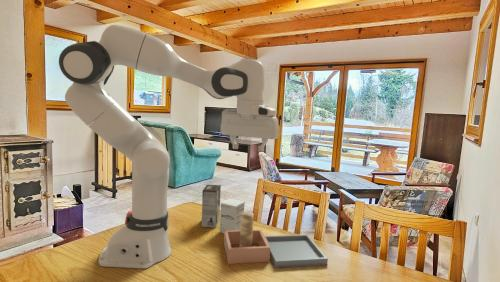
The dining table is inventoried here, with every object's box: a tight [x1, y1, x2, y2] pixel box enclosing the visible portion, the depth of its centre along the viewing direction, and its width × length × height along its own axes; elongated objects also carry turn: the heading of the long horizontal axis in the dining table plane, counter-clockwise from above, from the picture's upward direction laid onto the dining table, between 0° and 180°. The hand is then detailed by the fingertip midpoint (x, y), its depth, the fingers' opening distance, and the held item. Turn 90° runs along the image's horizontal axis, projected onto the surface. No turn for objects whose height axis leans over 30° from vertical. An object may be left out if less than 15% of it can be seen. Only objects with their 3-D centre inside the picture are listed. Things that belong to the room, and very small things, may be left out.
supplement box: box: [219, 198, 245, 234], centre depth 118 cm, size 7×7×13 cm
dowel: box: [239, 211, 255, 247], centre depth 102 cm, size 4×4×14 cm
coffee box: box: [201, 184, 222, 229], centre depth 125 cm, size 9×6×16 cm
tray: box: [264, 234, 329, 269], centre depth 104 cm, size 18×18×2 cm
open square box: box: [223, 229, 271, 265], centre depth 103 cm, size 14×14×5 cm
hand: (248, 150), depth 98 cm, fingers open, 8 cm apart
